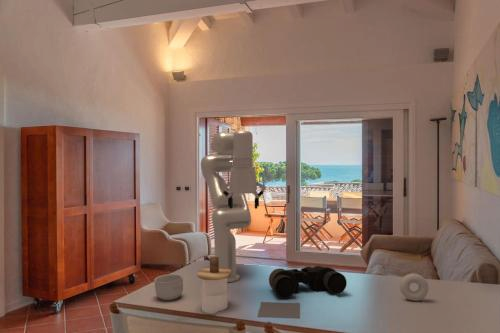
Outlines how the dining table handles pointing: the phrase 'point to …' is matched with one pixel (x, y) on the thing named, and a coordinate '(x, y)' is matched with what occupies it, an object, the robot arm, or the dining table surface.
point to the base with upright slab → (214, 295)
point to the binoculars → (306, 280)
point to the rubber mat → (279, 310)
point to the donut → (414, 294)
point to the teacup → (169, 286)
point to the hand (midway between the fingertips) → (243, 208)
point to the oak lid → (214, 271)
